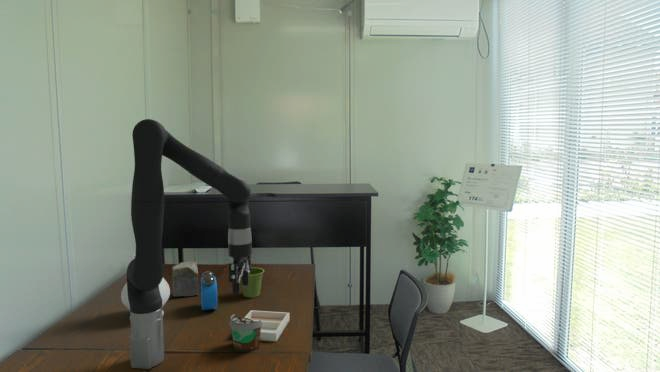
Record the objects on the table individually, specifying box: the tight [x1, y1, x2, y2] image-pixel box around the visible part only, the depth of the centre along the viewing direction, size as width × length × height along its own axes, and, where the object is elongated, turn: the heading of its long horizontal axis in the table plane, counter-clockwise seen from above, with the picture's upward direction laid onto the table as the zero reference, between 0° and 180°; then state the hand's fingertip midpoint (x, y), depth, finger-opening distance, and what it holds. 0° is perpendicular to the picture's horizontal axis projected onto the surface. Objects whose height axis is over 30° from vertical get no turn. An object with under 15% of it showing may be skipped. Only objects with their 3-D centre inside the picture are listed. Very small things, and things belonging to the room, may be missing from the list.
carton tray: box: [243, 309, 291, 342], centre depth 161 cm, size 18×16×3 cm
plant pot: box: [240, 267, 265, 299], centre depth 195 cm, size 12×12×11 cm
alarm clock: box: [199, 270, 218, 312], centre depth 179 cm, size 13×6×15 cm, turn 19°
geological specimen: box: [171, 260, 200, 298], centre depth 195 cm, size 11×6×15 cm, turn 115°
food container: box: [228, 313, 262, 353], centre depth 145 cm, size 12×6×10 cm, turn 62°
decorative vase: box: [120, 254, 171, 317], centre depth 171 cm, size 18×18×25 cm
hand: (240, 289), depth 144 cm, fingers open, 8 cm apart
